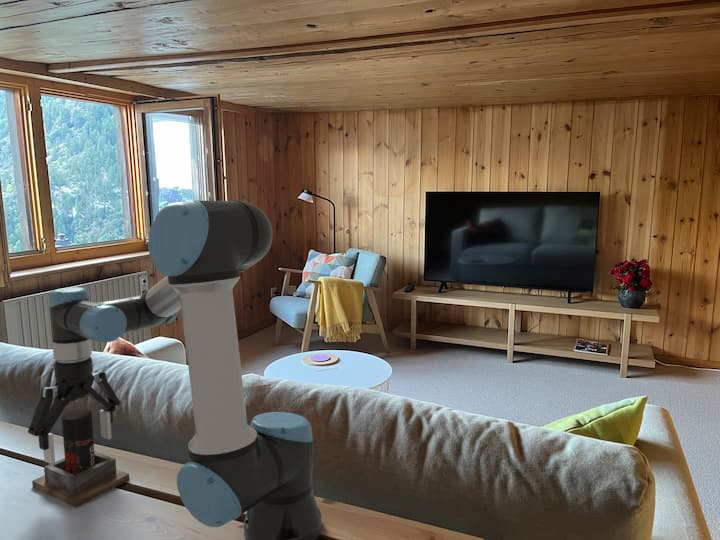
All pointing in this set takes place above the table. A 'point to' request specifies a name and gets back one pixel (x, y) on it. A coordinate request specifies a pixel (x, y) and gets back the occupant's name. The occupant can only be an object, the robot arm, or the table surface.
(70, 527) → the table surface
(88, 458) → the deodorant
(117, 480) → the socket stand
